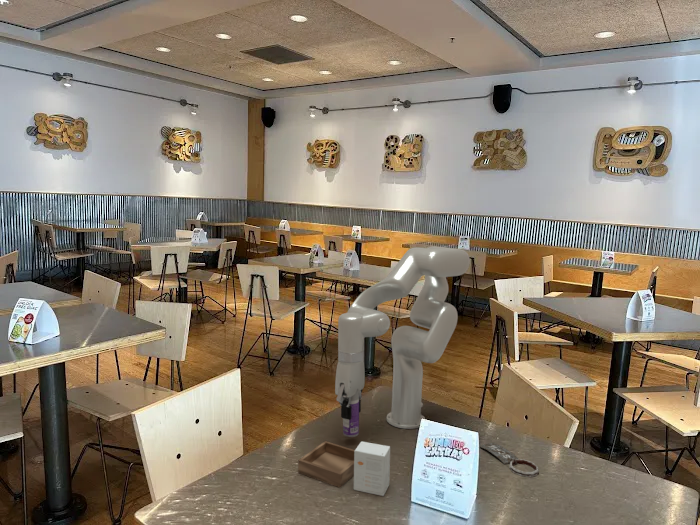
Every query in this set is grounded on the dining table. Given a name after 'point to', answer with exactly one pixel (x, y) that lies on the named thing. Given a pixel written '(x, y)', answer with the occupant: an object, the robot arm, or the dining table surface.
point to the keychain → (510, 459)
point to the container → (352, 417)
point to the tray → (328, 464)
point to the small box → (371, 468)
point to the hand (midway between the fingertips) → (351, 414)
